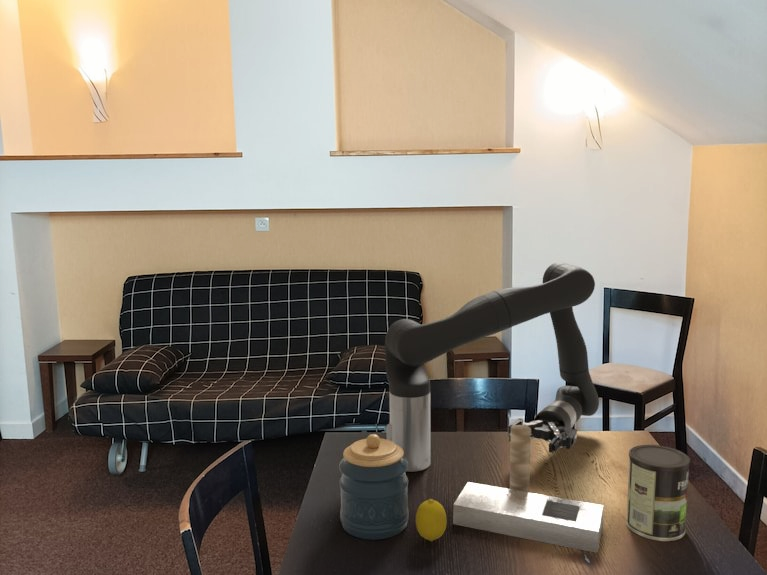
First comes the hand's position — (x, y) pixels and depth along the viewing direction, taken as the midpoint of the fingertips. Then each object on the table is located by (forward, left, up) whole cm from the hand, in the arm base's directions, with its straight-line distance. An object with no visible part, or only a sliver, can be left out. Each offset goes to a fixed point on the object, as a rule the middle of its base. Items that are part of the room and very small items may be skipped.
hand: (530, 444), depth 139 cm
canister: (-24, -28, -9) cm, 38 cm away
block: (+3, -18, -8) cm, 20 cm away
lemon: (-12, -30, -9) cm, 34 cm away
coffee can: (+25, -10, -9) cm, 28 cm away
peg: (-1, -6, -8) cm, 10 cm away
